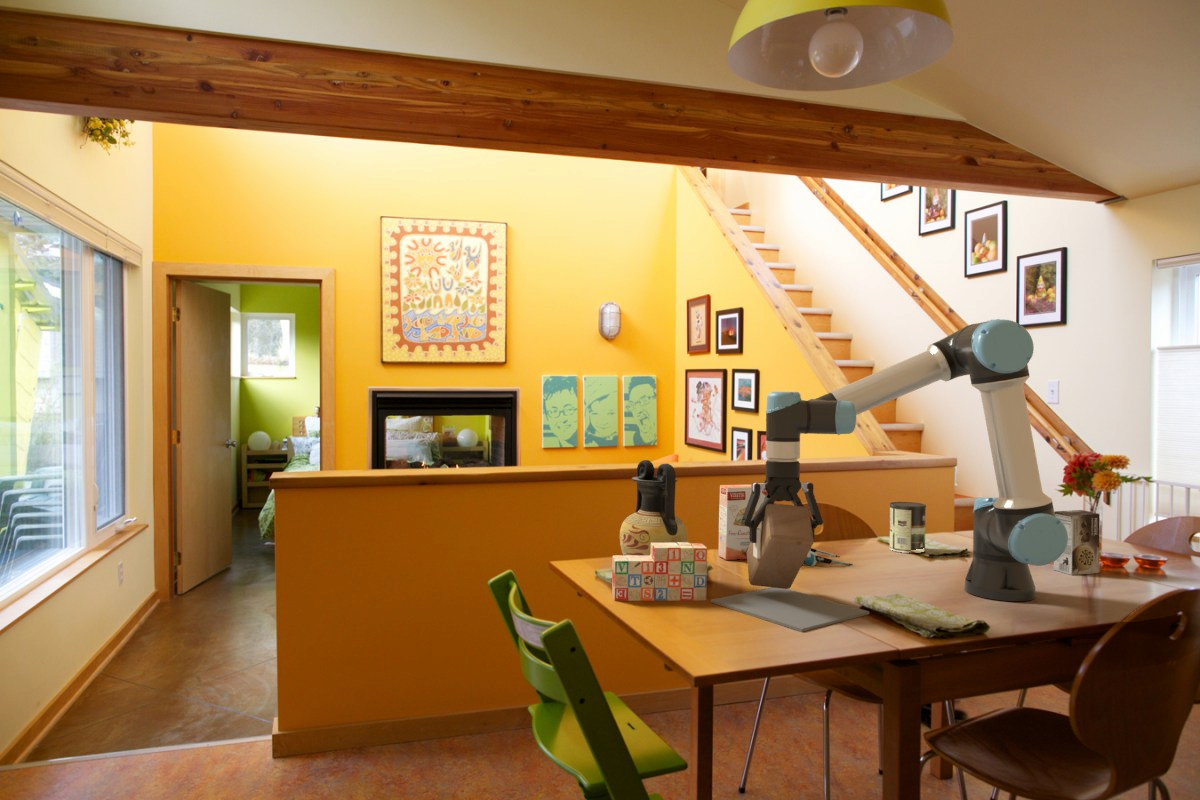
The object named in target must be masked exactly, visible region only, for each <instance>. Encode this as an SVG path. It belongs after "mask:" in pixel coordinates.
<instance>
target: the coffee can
mask: <svg viewBox="0 0 1200 800" xmlns="http://www.w3.org/2000/svg"><path fill="white" fill-rule="evenodd" d="M926 508H927V505H926V504H925V503H920V502H914V501H913V502H912V501H911V502H910V501H893V502H889V548H888V549H889V550H890V551H892V550H893V551H892V552H895V551H896V552H895V553H900V552H902V553H901V554H909V552H911V550H916V549H923V548H925V549H926V510H927V509H926Z"/></svg>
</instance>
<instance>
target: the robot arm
mask: <svg viewBox="0 0 1200 800" xmlns="http://www.w3.org/2000/svg"><path fill="white" fill-rule="evenodd" d="M1033 354H1034V342H1033V338H1032V336H1031V334H1030V332H1029V331H1028V329H1026V328H1025V327H1024V326H1023V325H1021V324H1020V323H1018V322H1016V321H1013V320H1010V319H999V318H998V319H991V320H987V321H982V322H977V323H971V324H968V325H967V326H964V327H962V328H960V329H958V330H956V331H955V332H953V333H951V334H950V335H948V336H946V337H944V338H942V339H940V340H938V341H936V342H933V343H932V344H928V346H927V349H926V351H923V352H921V353H919V354H917V355H914V356H911V357H909V358H907V359H904V360H903V361H899V362H897V363H896V364H892V365H891V366H889V367H886V368H884V369H882V370H878V371H877V372H874V373H873V374H869V375H868V376H865V377H863V378H861V379H858V380H855V381H853V382H851V383H849V384H846V385H844V386H842V387H840V388H837V389H835V390H832V391H829V392H828V393H826V394H823V395H820V396H819V397H816V398H810V399H807V400H803V399H802V398H801V397H802V396H801V393H800V392H798V391H770V392H769V393H768V395H767V396H766V409H765V432H766V433H765V438H766V440H765V457H766V458H767V460H766V461H765V480H764V482H763V483H762V482H761V483H759V482H758V483H757V482H752V483H751V485H752V493H751V496H750V498H749V501H748V504H747V507H746V510H745V512H744V515H743V518H742V521H741V523H742V524H743V525H745V526H748V527H749V529H750V536H749V540H750V542H752V543H753V556H754V557H756V558H760V553H761V529H759V528H757V527H758V526H759V524H760V523H761V521H762V519H763V518H764V516H765V508H766V506H767V504H774V503H776V502H784V501H785V502H791V503H792V505H793V506H803V507H805V505H804V504H803V502H802V500H801V498H800V496H799V495H798V492H800V490H802V492H804V496H805V499H806V503H807V505H808V509H809V513H810V514H811V515H810V521H811V527H812V534H813V540H814V541H815V529H816V528H817V526H822V525H823V523H824V520H823V517H822V515H821V512H820V509H819V506H818V502H817V499H816V497H815V493H814V484H813V482H809V481H805V482H801V480H800V476H801V475H800V474H801V471H800V470H801V467H800V466H801V463H800V461H799V460H800V458H801V434H802V435H803V434H805V435H807V434H815V435H838V436H840V435H851V434H852V433H853V432H855V429H856V425H857V416H858V415H860V414H862V413H865V412H868V411H869V410H872V409H874V408H877V407H879V406H882V405H883V404H886V403H888V402H891V401H893V400H895V399H897V398H901V397H903V396H905V395H907V394H909V393H913V392H915V391H917V390H919V389H921V388H924V387H926V386H930V385H931V384H933V383H936V382H938V381H944V382H949V381H951V380H954V379H956V378H959V377H963V376H968V375H969V378H970V385H971V386H972V387H973V388H975V389H977V390H978V391H979V393H980V396H981V397H980V398H981V403H982V408H983V413H984V419H985V425H986V430H987V435H988V442H989V446H990V452H991V457H992V462H993V463H992V464H993V467H994V474H995V480H996V485H997V491H998V497H978V498H977V497H976V499H975V500H974V503H973V510H972V514H973V520H972V522H973V523H972V524H973V527H972V528H973V529H972V530H973V531H972V533H973V534H972V535H973V537H972V543H973V545H972V551H973V552H972V561H971V563H970V566H969V568H968V571H967V573H966V576H965V580H964V591H965V592H966V593H968V594H971V595H973V596H976V597H980V598H984V599H989V600H995V601H1004V602H1026V601H1027V602H1028V601H1033V600H1034V599H1036V593H1037V592H1036V590H1037V589H1036V585H1035V582H1034V580H1033V576H1032V573H1031V570H1030V567H1029V566H1036V567H1038V566H1039V567H1042V566H1046V565H1050V564H1051V563H1054V561H1055V560H1057V559H1058V558H1059V557H1060V556H1061V555H1062V553H1063V552H1064V551H1065V549H1066V547H1067V543H1068V533H1067V530H1066V528H1065V526H1064V524H1063V523H1062V522H1061V521H1060V520H1059V519H1058V518H1057V517H1055V514H1054V512H1055V510H1054V509H1055V508H1054V505H1053V500H1052V498H1051V497H1049V495H1047V494H1045V493H1044V491H1043V486H1042V483H1041V476H1040V473H1039V472H1040V471H1039V465H1038V460H1037V455H1036V454H1037V453H1036V450H1035V444H1034V438H1033V437H1034V436H1033V432H1032V431H1033V430H1032V426H1031V420H1030V415H1029V411H1028V405H1027V400H1026V399H1027V398H1026V395H1025V388H1024V385H1025V384H1026V382H1027V380H1028V379H1029V378H1030V372H1029V366H1028V365H1029V362H1030V360H1031V359H1032V358H1033V356H1034V355H1033ZM764 488H765V490H766V491H767V495H766V497H765V498H764V501H763V503H762V504H761V506H760V507H759V509H758V510H757V512H756V514H755V515H754V517H753V514H754V511H755V508H756V505H757V503H758V500H759V497H760V493H761V492H762V491H763V489H764ZM752 517H753V518H752ZM751 519H752V520H751ZM806 557H811V549H810V551H809V552H808V554H807V556H806Z"/></svg>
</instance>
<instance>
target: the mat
mask: <svg viewBox="0 0 1200 800" xmlns="http://www.w3.org/2000/svg"><path fill="white" fill-rule="evenodd" d="M710 603H712V604H715V605H718V606H720V607H724V608H727V609H730V610H733V611H736V612H739V613H742V614H746V615H748V616H752V617H754V618H757V619H760V620H764V621H766V620H767V622H770V623H773V624H776V625H779V626H783V627H785V626H786V627H785V628H788V627H789V629H791V628H792V629H791V630H794V629H795V631H798V632H801V633H802V632H803V633H804V632H806V631H807V632H808V631H811V630H815V629H818V628H822V627H826V626H829V625H833V624H837V623H840V622H845V621H849V620H851V619H856V618H860V617H864V616H868V615H870V611H869V610H866V609H862V608H859V607H855V606H850V605H847V604H843V603H840V602H838V601H837V602H836V601H832V600H830V599H829V600H828V599H825V598H822V597H818V596H814V595H810V594H807V593H805V592H804V593H803V592H799V591H797V590H792V589H790V588H789V589H783V588H773V587H766V588H763V589H762V588H761V589H756V590H752V591H747V592H742V593H737V594H733V595H728V596H727V595H726V596H722V597H719V598H712V599H710Z"/></svg>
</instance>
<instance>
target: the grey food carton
mask: <svg viewBox="0 0 1200 800" xmlns="http://www.w3.org/2000/svg"><path fill="white" fill-rule="evenodd" d="M1054 514H1055V517H1057V518H1058V519H1059V520H1060V521H1061V522H1062V523H1063V524H1064V526H1065V528H1066V530H1067V533H1068V543H1067V547H1066V549H1065V551H1064V552H1063V553H1062V555H1061V556H1060V557H1059V558H1058V559H1057V560H1055V561H1054V562H1053V570H1054V571H1057V572H1060V573H1063V574H1067V575H1069V576H1078V575H1079V576H1080V575H1090V574H1091V575H1092V574H1099V573H1100V517H1101V516H1100V513H1098V512H1092V511H1088V510H1084V509H1083V510H1082V509H1078V510H1075V509H1073V510H1061V511H1060V510H1059V511H1056V510H1054Z"/></svg>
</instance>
